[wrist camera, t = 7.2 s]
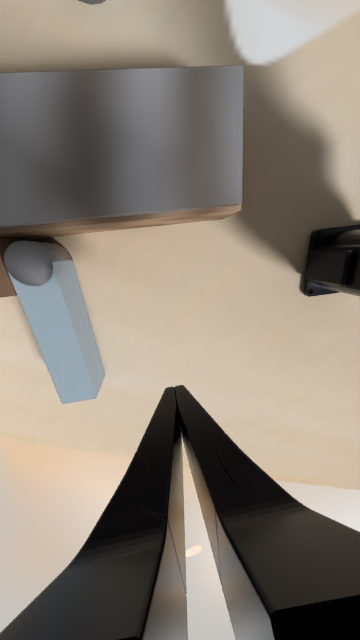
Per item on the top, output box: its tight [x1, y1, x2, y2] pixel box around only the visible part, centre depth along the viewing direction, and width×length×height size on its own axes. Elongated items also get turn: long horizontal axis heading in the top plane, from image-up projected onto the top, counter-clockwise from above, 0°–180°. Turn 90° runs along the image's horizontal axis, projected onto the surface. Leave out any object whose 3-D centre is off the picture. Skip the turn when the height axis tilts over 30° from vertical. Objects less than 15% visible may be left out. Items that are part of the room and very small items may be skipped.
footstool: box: [0, 65, 244, 297], centre depth 13 cm, size 18×11×5 cm, turn 96°
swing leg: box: [4, 241, 105, 404], centre depth 16 cm, size 14×3×4 cm, turn 6°
